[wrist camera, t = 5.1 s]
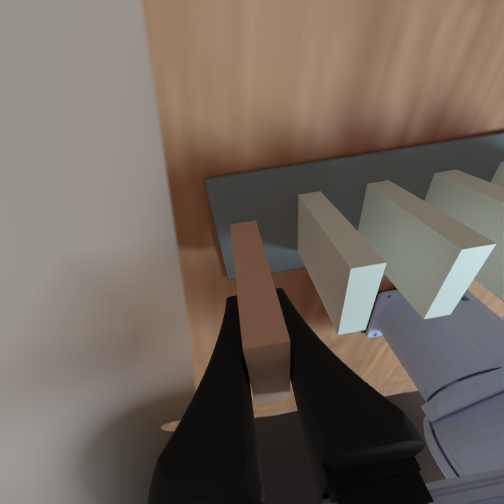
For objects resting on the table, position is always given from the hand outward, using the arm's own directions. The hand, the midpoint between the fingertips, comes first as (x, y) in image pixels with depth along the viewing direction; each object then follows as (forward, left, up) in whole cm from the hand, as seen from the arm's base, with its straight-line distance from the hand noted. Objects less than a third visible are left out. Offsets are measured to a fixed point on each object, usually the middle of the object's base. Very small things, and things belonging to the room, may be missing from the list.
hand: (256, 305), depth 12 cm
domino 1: (-5, 0, -7) cm, 9 cm away
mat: (-12, 0, -7) cm, 14 cm away
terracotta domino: (0, 0, -4) cm, 4 cm away
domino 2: (-10, 0, -7) cm, 12 cm away
